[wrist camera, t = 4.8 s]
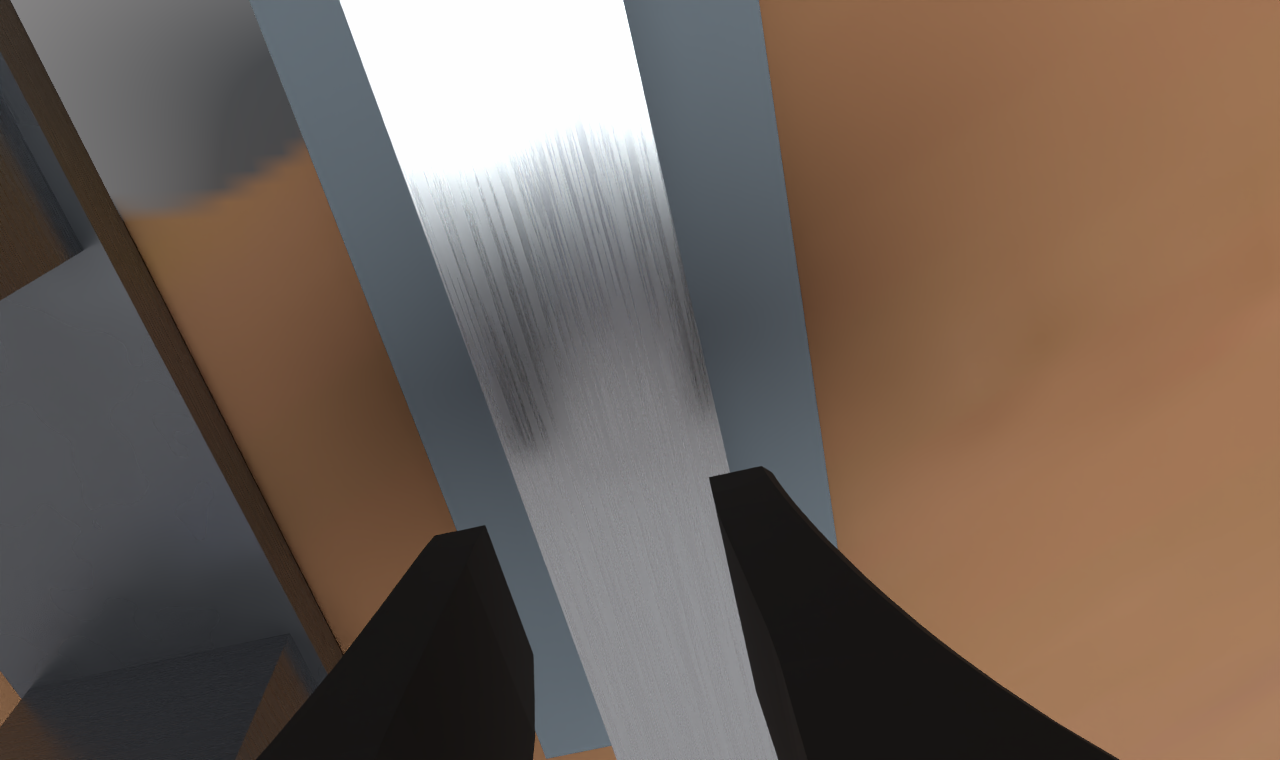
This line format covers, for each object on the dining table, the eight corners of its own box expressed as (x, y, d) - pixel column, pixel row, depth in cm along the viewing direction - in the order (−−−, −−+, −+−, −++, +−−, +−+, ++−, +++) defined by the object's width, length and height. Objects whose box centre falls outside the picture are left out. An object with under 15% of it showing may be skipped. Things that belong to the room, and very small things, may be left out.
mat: (851, 675, 19) (858, 695, 19) (547, 736, 20) (546, 758, 19) (705, -314, 11) (711, -327, 11) (195, -181, 12) (175, -187, 11)
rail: (632, 696, 18) (770, 666, 18) (640, 824, 16) (801, 790, 16) (344, -162, 11) (566, -224, 11) (267, -197, 9) (559, -279, 8)
